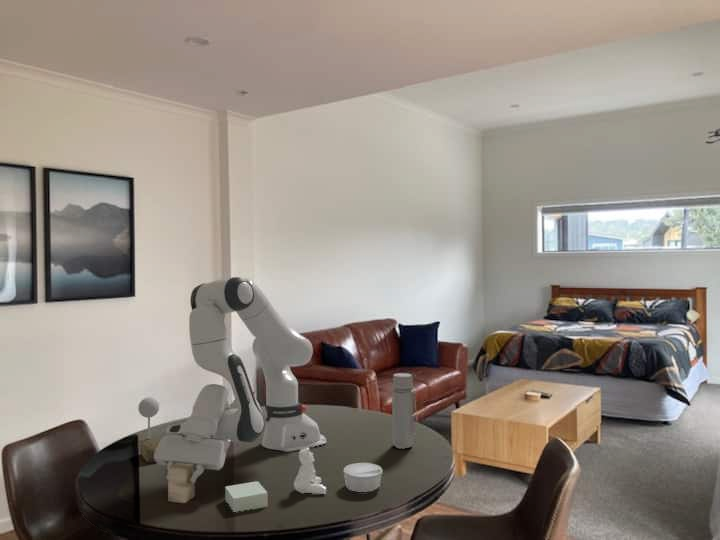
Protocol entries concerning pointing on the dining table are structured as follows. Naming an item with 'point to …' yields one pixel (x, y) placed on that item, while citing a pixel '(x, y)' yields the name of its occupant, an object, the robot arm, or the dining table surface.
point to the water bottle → (403, 409)
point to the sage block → (246, 496)
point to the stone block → (149, 449)
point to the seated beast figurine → (308, 475)
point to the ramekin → (362, 476)
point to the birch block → (180, 482)
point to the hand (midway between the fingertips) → (180, 481)
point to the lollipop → (148, 409)
